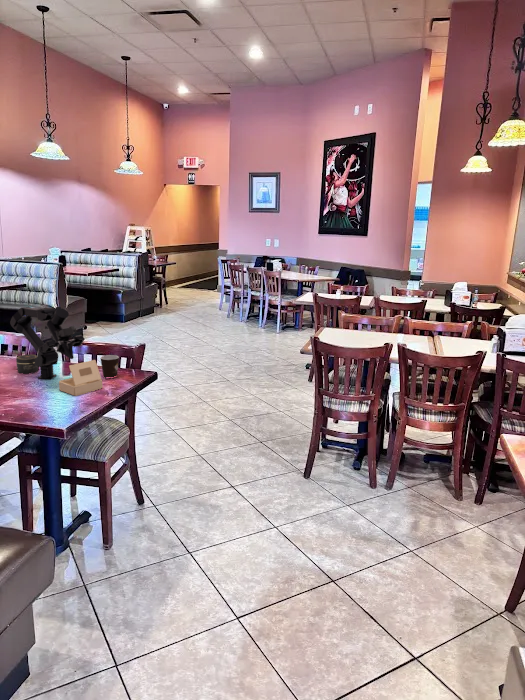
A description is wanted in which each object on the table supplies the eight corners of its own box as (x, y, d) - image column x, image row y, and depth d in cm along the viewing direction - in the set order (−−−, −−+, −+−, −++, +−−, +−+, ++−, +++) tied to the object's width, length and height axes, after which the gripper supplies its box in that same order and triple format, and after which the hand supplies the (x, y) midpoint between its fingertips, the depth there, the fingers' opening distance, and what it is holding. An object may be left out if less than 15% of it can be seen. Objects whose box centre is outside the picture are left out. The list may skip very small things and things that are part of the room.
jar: (16, 369, 251) (15, 355, 249) (38, 368, 255) (37, 353, 254) (17, 375, 242) (16, 360, 240) (40, 373, 247) (38, 358, 245)
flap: (75, 385, 217) (68, 365, 217) (100, 378, 227) (94, 359, 227) (75, 385, 216) (69, 365, 216) (101, 378, 227) (95, 359, 227)
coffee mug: (108, 380, 240) (107, 360, 238) (97, 376, 245) (96, 357, 243) (128, 375, 249) (127, 356, 247) (117, 372, 254) (116, 353, 252)
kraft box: (58, 390, 224) (57, 381, 223) (86, 382, 236) (86, 374, 235) (74, 396, 217) (74, 387, 216) (103, 388, 229) (103, 379, 228)
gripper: (44, 323, 217) (60, 352, 214) (81, 318, 232) (97, 345, 229) (35, 338, 224) (51, 366, 220) (72, 332, 239) (87, 358, 235)
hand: (72, 358), depth 226 cm, fingers closed
